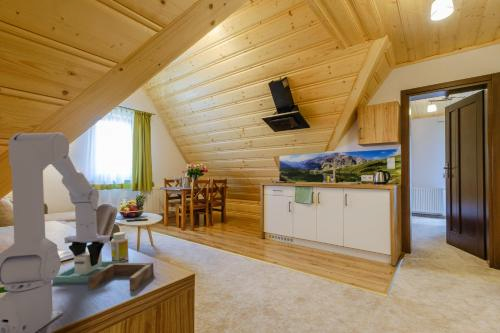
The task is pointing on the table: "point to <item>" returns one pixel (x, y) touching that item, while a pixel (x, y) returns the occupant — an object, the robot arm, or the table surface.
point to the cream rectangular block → (85, 263)
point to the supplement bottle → (119, 247)
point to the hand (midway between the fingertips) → (88, 264)
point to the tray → (78, 275)
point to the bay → (123, 274)
